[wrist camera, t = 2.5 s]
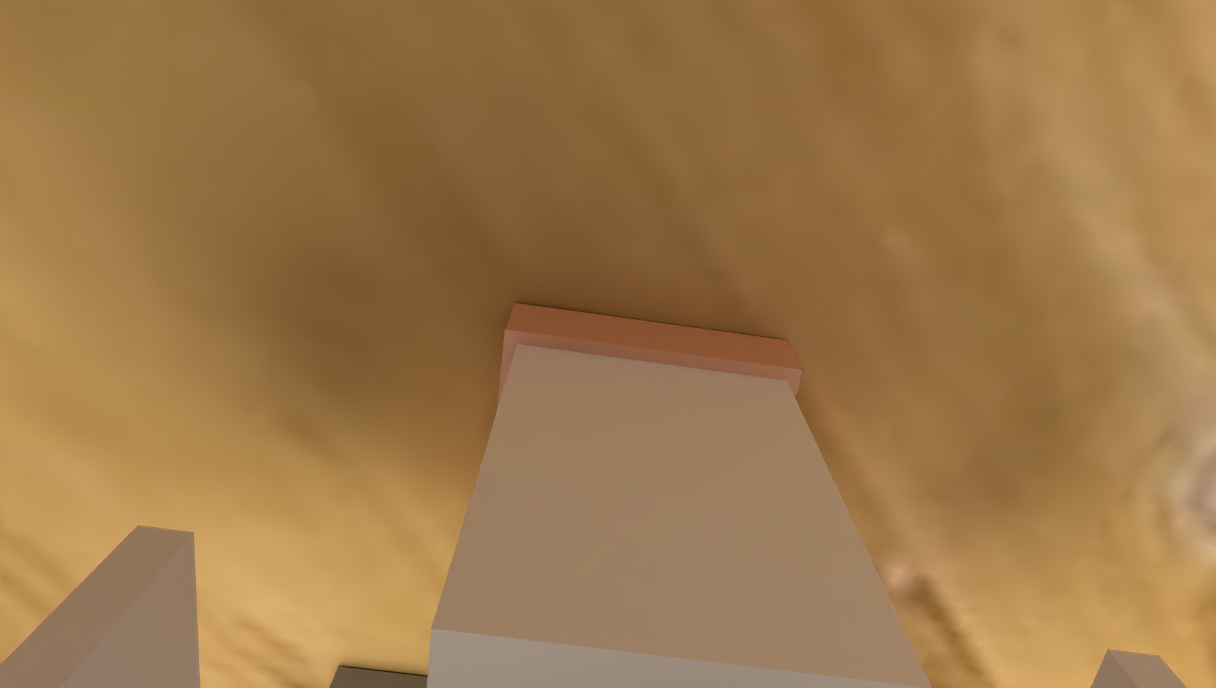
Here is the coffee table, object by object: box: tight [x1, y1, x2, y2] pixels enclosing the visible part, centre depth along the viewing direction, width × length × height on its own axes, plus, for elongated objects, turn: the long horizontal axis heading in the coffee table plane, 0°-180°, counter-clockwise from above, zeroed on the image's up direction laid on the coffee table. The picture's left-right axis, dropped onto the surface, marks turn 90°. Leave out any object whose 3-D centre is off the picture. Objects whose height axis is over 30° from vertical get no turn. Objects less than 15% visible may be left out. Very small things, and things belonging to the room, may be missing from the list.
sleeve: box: [427, 303, 932, 688], centre depth 13 cm, size 6×6×9 cm
